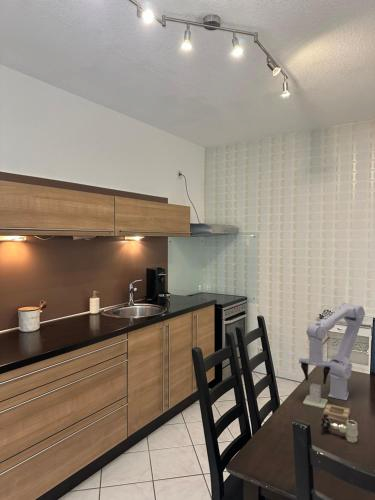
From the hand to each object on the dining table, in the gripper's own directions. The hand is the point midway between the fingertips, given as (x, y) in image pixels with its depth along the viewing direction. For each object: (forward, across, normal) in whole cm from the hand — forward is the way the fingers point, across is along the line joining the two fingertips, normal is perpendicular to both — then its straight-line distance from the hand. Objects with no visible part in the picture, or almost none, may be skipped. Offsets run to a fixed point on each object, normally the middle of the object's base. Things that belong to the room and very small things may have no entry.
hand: (315, 381), depth 158 cm
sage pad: (+9, 0, 0) cm, 9 cm away
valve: (+10, +14, -25) cm, 30 cm away
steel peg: (+9, 0, 0) cm, 9 cm away
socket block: (+9, +10, -8) cm, 16 cm away
